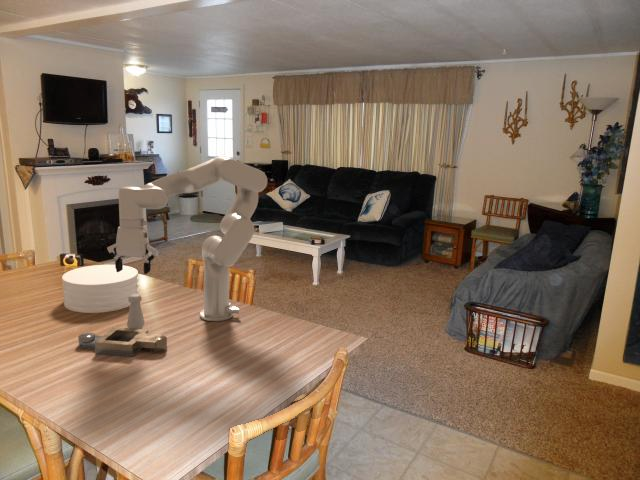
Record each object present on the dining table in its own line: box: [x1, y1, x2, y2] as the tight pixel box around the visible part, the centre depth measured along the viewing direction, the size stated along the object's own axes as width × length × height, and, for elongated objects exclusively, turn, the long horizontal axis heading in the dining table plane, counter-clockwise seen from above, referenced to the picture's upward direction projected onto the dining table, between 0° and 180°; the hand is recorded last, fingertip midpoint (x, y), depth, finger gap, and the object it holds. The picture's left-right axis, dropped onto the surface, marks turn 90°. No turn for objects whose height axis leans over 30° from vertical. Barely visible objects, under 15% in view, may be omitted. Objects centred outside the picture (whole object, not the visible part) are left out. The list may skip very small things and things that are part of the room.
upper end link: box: [95, 326, 168, 354], centre depth 153 cm, size 20×12×4 cm, turn 86°
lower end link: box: [77, 332, 143, 358], centre depth 154 cm, size 20×12×3 cm, turn 86°
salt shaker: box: [126, 293, 145, 329], centre depth 166 cm, size 6×6×13 cm
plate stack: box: [61, 264, 140, 314], centre depth 193 cm, size 28×28×12 cm
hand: (133, 272), depth 163 cm, fingers open, 9 cm apart
